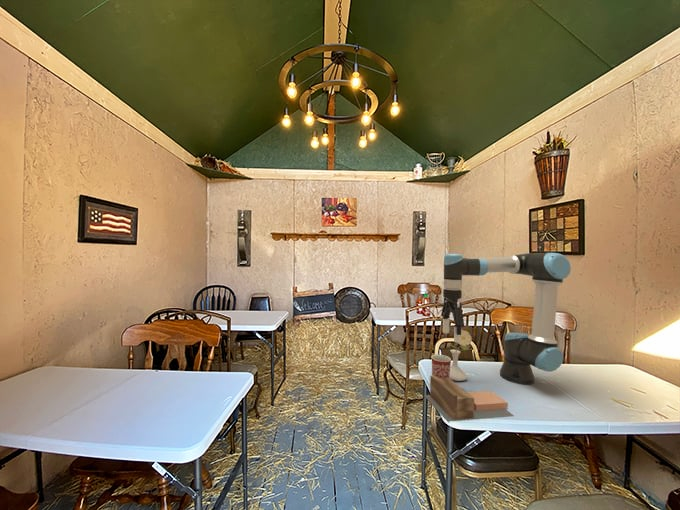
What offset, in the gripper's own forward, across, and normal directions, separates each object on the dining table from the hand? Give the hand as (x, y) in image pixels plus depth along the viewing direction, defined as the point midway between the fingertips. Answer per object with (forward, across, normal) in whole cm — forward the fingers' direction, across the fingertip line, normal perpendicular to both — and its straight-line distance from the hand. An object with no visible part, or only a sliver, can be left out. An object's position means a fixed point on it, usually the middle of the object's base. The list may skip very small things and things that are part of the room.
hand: (451, 337), depth 127 cm
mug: (+26, -12, 0) cm, 29 cm away
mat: (+26, +7, +4) cm, 28 cm away
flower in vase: (+27, -20, +10) cm, 35 cm away
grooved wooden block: (+26, +8, -3) cm, 27 cm away
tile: (+26, +6, +12) cm, 29 cm away
